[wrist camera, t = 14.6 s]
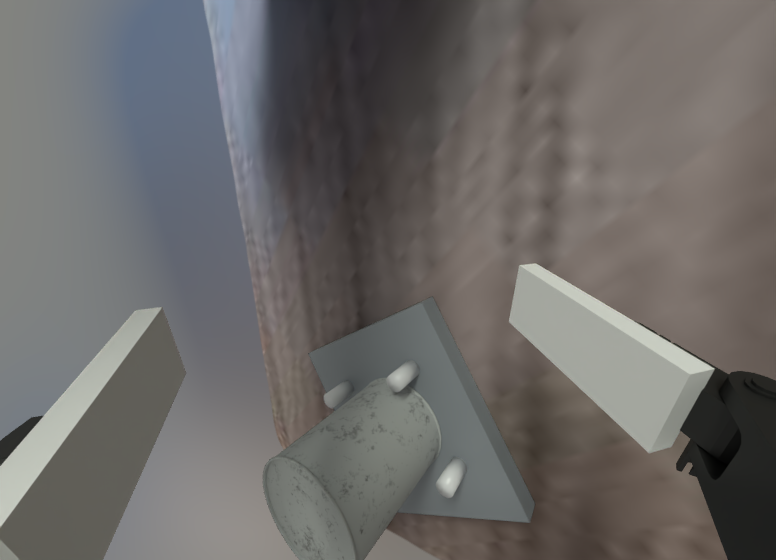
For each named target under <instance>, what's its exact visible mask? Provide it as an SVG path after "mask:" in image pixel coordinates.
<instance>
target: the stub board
mask: <svg viewBox="0 0 776 560" xmlns="http://www.w3.org/2000/svg"><path fill="white" fill-rule="evenodd" d="M308 354H309V356H310V358H311V361H312V363H313V365H314V367H315V369H316V372H317V374H318V376H319V378H320V380H321V382H322V385H323V387H324V389H325V391H326V394H325V395H324V402H325V404H326V405H327V406H328V407H329V408H334V411H336V410H337V409H338V408H340V407H341V406H342V405H343V404H345V403H346V402H347V401H349V400H350V399H351V398H353V397H354V396H355V395H356V394H358V393H359V392H360V391H362V390H363V389H364V388H366V387H367V386H368V385H369V384H370V383H371V382H372V381H374V380H376V379H380V378H387V385H388V387H389V388H390V389H391V390H392V391H394V392H400V391H401V390H402V389H403V388H404V387H405V386H407V385H409V386H410V387H412V388H413V389H414V390H416V391H417V392H418V393H419V394H420V395H421V396H422V397H423V398H424V399H425V401H426V402H427V403H428V404H429V405H430V407H431V409H432V410H433V412H434V414H435V416H436V418H437V421H438V423H439V426H440V430H441V435H442V443H441V449H440V453H439V455H438V457H437V458H436V459H435V461H434V462H433V463H431V465H430V466H429V468H428V469H427V470H426V472H425V473H424V475H423V476H422V478H421V479H420V480H419V482H418V483H417V485H416V486H415V488H414V489H413V490H412V492H411V493H410V495H409V496H408V498H407V499H406V500H405V502H404V503H403V505H402V506H401V508H400V509H399V510H398V512H399V513H412V514H425V515H438V516H451V517H464V518H477V519H489V520H502V521H515V522H528V523H530V521H531V517H532V514H533V510H534V506H535V503H534V501H533V499H532V496H531V494H530V492H529V490H528V488H527V486H526V484H525V482H524V480H523V478H522V476H521V474H520V472H519V470H518V468H517V466H516V464H515V462H514V460H513V458H512V456H511V454H510V452H509V450H508V448H507V446H506V444H505V442H504V440H503V438H502V436H501V434H500V432H499V430H498V428H497V426H496V424H495V422H494V420H493V418H492V416H491V414H490V412H489V410H488V408H487V406H486V404H485V402H484V400H483V398H482V396H481V394H480V392H479V390H478V387H477V385H476V383H475V381H474V379H473V377H472V375H471V373H470V371H469V369H468V367H467V365H466V363H465V361H464V359H463V357H462V355H461V353H460V351H459V349H458V347H457V345H456V343H455V341H454V339H453V337H452V335H451V333H450V331H449V329H448V327H447V325H446V323H445V321H444V319H443V317H442V315H441V313H440V311H439V309H438V307H437V305H436V303H435V301H434V299H433V297H430V298H428V299H426V300H423V301H421V302H419V303H417V304H415V305H412V306H410V307H408V308H406V309H404V310H401V311H399V312H397V313H395V314H393V315H390V316H388V317H386V318H384V319H382V320H379V321H377V322H375V323H373V324H371V325H368V326H366V327H364V328H362V329H360V330H357V331H355V332H353V333H351V334H349V335H346V336H344V337H342V338H340V339H338V340H335V341H333V342H331V343H329V344H327V345H324V346H322V347H320V348H318V349H316V350H314V351H312V352H310V353H308Z"/></svg>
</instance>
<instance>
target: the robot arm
mask: <svg viewBox="0 0 776 560" xmlns="http://www.w3.org/2000/svg"><path fill="white" fill-rule="evenodd" d="M509 322H510V323H511V324H512V325H513V326H514V327H515V328H516V329H517V330H518V331H519V332H520V333H522V334H523V335H524V336H525V337H526V338H527V339H528V340H529V341H530V342H531V343H532V344H533V345H534V346H535V347H536V348H538V349H539V350H540V351H541V352H542V353H543V354H544V355H545V356H546V357H547V358H548V359H549V360H550V361H551V362H552V363H554V364H555V365H556V366H557V367H558V368H559V369H560V370H561V371H562V372H563V373H564V374H565V375H566V376H567V377H568V378H570V379H571V380H572V381H573V382H574V383H575V384H576V385H577V386H578V387H579V388H580V389H581V390H582V391H583V392H584V393H586V394H587V395H588V396H589V397H590V398H591V399H592V400H593V401H594V402H595V403H596V404H597V405H598V406H599V407H600V408H602V409H603V410H604V411H605V412H606V413H607V414H608V415H609V416H610V417H611V418H612V419H613V420H614V421H615V422H616V423H618V424H619V425H620V426H621V427H622V428H623V429H624V430H625V431H626V432H627V433H628V434H629V435H630V436H631V437H632V438H634V439H635V440H636V441H637V442H638V443H639V444H640V445H641V446H642V447H643V448H644V449H645V450H646V451H647V452H648V453H652V452H655V451H659V450H662V449H666V448H669V447H671V446H672V445H673V443H674V441H675V439H676V438H677V436H678V434H679V432H680V431H682V432H683V433H684V434H685V435H687V436H688V437H689V438H690V441H689V443H688V445H687V446H686V448H685V450H684V451H683V453H682V455H681V456H680V458H679V460H678V461H677V463H676V468H677V470H678V471H681V472H682V470H683V469H684V467H685V466H686V464H687V462H690V463H692V465H693V467H692V468H691V470H690V472H689V474H690V475H693V476H696V477H697V478H698V481H699V483H700V486H701V489H702V492H703V494H704V497H705V500H706V502H707V505H708V508H709V510H710V513H711V516H712V518H713V521H714V524H715V526H716V529H717V532H718V534H719V537H720V540H721V542H722V545H723V548H724V551H725V553H726V556H727V559H728V560H776V381H775V380H773V379H770V378H768V377H765V376H762V375H758V374H755V373H751V372H743V371H737V372H731V373H730V374H727V373H725V372H723V371H722V370H720V369H718V368H716V367H715V366H713V365H711V364H710V363H708V362H706V361H704V360H703V359H701V358H699V357H697V356H696V355H694V354H692V353H691V352H689V351H687V350H685V349H684V348H682V347H680V346H679V345H677V344H675V343H671V342H670V340H668V339H667V338H665V337H663V336H661V335H657V333H656V332H655V331H653V330H651V329H649V328H648V327H646V326H644V325H643V324H641V323H638V322H636V321H633V320H631V319H629V318H628V317H626V316H624V315H622V314H621V313H619V312H617V311H616V310H614V309H612V308H611V307H609V306H607V305H605V304H604V303H602V302H600V301H599V300H597V299H595V298H594V297H592V296H590V295H588V294H587V293H585V292H583V291H582V290H580V289H578V288H577V287H575V286H573V285H571V284H570V283H568V282H566V281H565V280H563V279H561V278H559V277H558V276H556V275H554V274H553V273H551V272H549V271H548V270H546V269H544V268H542V267H541V266H539V265H537V264H536V263H535V264H527V265H519V270H518V276H517V281H516V286H515V292H514V297H513V303H512V308H511V313H510V319H509ZM185 375H186V371H185V368H184V365H183V363H182V360H181V357H180V354H179V351H178V349H177V346H176V343H175V341H174V338H173V335H172V332H171V329H170V327H169V324H168V321H167V318H166V316H165V313H164V310H163V308H162V307H160V308H151V309H143V310H135V312H134V313H133V314H132V315H131V316H130V317H129V318H128V320H127V321H126V322H125V323H124V324H123V325H122V327H121V328H120V329H119V330H118V331H117V332H116V334H115V335H114V336H113V337H112V338H111V339H110V340H109V342H108V343H107V344H106V345H105V346H104V347H103V348H102V350H101V351H100V352H99V353H98V354H97V355H96V357H95V358H94V359H93V360H92V361H91V362H90V363H89V365H88V366H87V367H86V368H85V369H84V370H83V372H82V373H81V374H80V375H79V376H78V377H77V378H76V380H75V381H74V382H73V383H72V384H71V385H70V386H69V388H68V389H67V390H66V391H65V392H64V393H63V395H62V396H61V397H60V398H59V399H58V400H57V402H56V403H55V404H54V405H53V406H52V407H51V408H50V409H49V411H48V412H47V413H46V414H45V415H44V416H38V417H33V418H30V419H29V420H28V421H26V422H25V423H24V424H22V425H21V426H19V427H18V428H17V429H15V430H14V431H12V432H11V433H10V434H9V435H7V436H6V437H4V438H3V439H2V440H1V441H0V560H103V558H104V556H105V554H106V552H107V550H108V547H109V545H110V543H111V541H112V538H113V536H114V534H115V532H116V529H117V527H118V525H119V523H120V520H121V518H122V516H123V513H124V511H125V509H126V507H127V504H128V502H129V500H130V498H131V496H132V494H133V491H134V489H135V487H136V485H137V482H138V480H139V478H140V476H141V473H142V471H143V469H144V467H145V464H146V462H147V460H148V458H149V455H150V453H151V451H152V448H153V446H154V444H155V442H156V440H157V437H158V435H159V433H160V431H161V429H162V426H163V424H164V421H165V419H166V417H167V415H168V413H169V411H170V408H171V406H172V404H173V402H174V399H175V397H176V395H177V393H178V390H179V388H180V386H181V384H182V381H183V379H184V377H185Z"/></svg>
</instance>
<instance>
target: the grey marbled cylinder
mask: <svg viewBox="0 0 776 560" xmlns="http://www.w3.org/2000/svg"><path fill="white" fill-rule="evenodd" d="M441 443H442V435H441V430H440V426H439V423H438V421H437V418H436V416H435V414H434V412H433V410H432V409H431V407H430V405H429V404H428V403H427V402H426V401H425V399H424V398H423V397H422V396H421V395H420V394H419V393H418V392H417V391H416V390H414V389H413V388H412V387H410V386H409V385H407V386H405V387H404V388H403V389H402V390H401V391H400V392H394V391H392V390H391V389H390V388H389V387H388V385H387V378H380V379H376V380H374V381H372V382H371V383H370V384H369V385H368V386H367V387H366V388H364V389H363V390H362V391H360V392H359V393H358V394H356V395H355V396H354V397H353V398H351V399H350V400H349V401H347V402H346V403H345V404H343V405H342V406H341V407H340V408H338V409H337V410H336V411H334V412H333V413H332V414H330V415H329V416H328V417H326V418H325V419H324V420H323V421H321V422H320V423H319V424H317V425H316V426H315V427H313V428H312V429H311V430H310V431H308V432H307V433H306V434H304V435H303V436H302V437H300V438H299V439H298V440H297V441H295V442H294V443H293V444H291V445H290V446H289V447H287V448H286V449H285V450H283V451H282V452H281V453H280V454H278V455H277V456H275V457H273V458H271V459H270V460H269V461H268V462H267V464H266V465H265V468H264V471H263V488H264V494H265V497H266V501H267V505H268V507H269V510H270V512H271V515H272V517H273V519H274V521H275V523H276V525H277V527H278V529H279V531H280V533H281V534H282V536H283V538H284V539H285V541H286V543H287V544H288V545H289V547H290V548H291V550H292V551H293V552H294V554H295V555H296V556H297V557H298V558H299V560H364V559H365V558H366V556H367V554H368V553H369V552H370V550H371V549H372V548H373V546H374V544H375V543H376V542H377V540H378V539H379V537H380V536H381V535H382V533H383V532H384V530H385V529H386V528H387V526H388V525H389V523H390V522H391V520H392V519H393V518H394V516H395V515H396V513H397V512H398V510H399V509H400V508H401V506H402V505H403V503H404V502H405V500H406V499H407V498H408V496H409V495H410V493H411V492H412V490H413V489H414V488H415V486H416V485H417V483H418V482H419V480H420V479H421V478H422V476H423V475H424V473H425V472H426V470H427V469H428V468H429V466H430V465H431V463H433V462H434V461H435V459H436V458H437V457H438V455H439V453H440V449H441Z"/></svg>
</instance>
